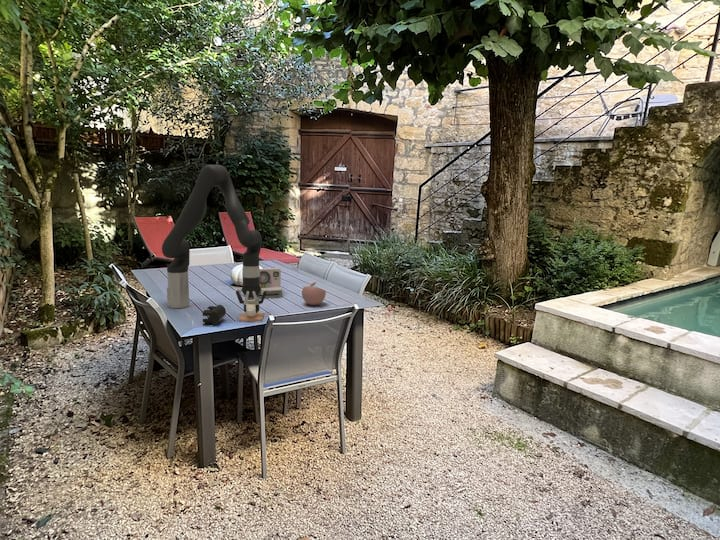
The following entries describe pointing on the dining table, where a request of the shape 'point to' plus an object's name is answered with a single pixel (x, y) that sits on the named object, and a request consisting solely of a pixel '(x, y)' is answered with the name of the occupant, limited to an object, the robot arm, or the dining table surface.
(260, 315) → the tile
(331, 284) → the dining table surface
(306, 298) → the apple
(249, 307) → the connector
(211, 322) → the dark knobbly lump
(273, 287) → the instant camera
